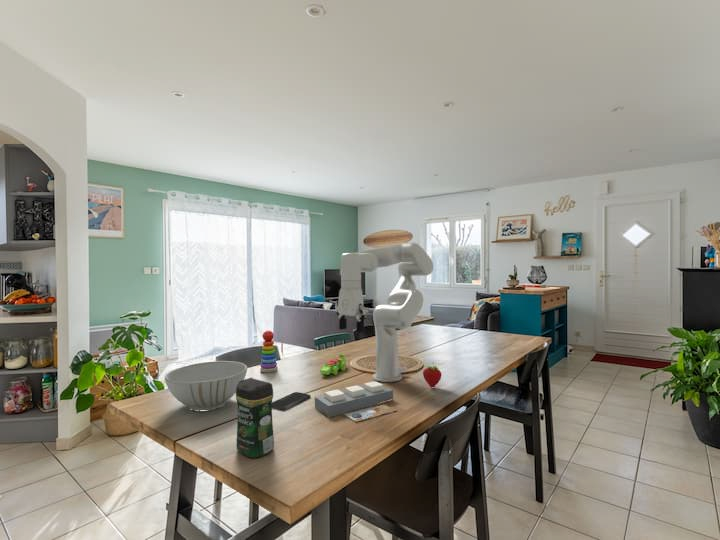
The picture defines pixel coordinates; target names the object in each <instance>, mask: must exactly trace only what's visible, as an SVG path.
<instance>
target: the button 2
mask: <svg viewBox="0 0 720 540" xmlns="http://www.w3.org/2000/svg"><path fill="white" fill-rule="evenodd" d="M363 386H364V389H365V390H367V391H369V392H371V393H373V392H377V391H381V390H383V386H384V384H383V383H380V382H379V381H376V380H374V381H369V382H366V383H365V382H364V383H363Z"/></svg>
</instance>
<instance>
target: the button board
mask: <svg viewBox="0 0 720 540" xmlns="http://www.w3.org/2000/svg"><path fill="white" fill-rule="evenodd" d="M360 387H362V388H364V385H362V386H360ZM340 391H341V392H343V393H345V389H343V390H340ZM390 399H393V400H394V390H393V389H391V388H389V387H387V386H384V385H383V390H381V391H377V392H373V393H371V392H369V391H367V390H365V395H360V396H356V397H350V396H349V395H347V394H345V399H344V400H340V401H335V402H330V401H328V400H327V399H325V394H322V395H317V396H314V409H316V410H318V411H320V413H322V414H323V415H325V416H326V415H327V416H326V417H328V418H331V417H334V416H339V415H342V413H343V414H346V413H345V412H347V413H350V412H354V411H357V410H356V409H358V410H361V409H360V408H362V409H364V408H363V407H366V408H368V407H367V406H369V407H371V406H370V405H373V406H375V405H374V404H377V403H380V402H383V401H387V400H390ZM377 405H378V404H377ZM353 410H354V411H353ZM349 411H350V412H349Z"/></svg>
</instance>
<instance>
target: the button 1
mask: <svg viewBox="0 0 720 540" xmlns="http://www.w3.org/2000/svg"><path fill="white" fill-rule="evenodd" d="M341 391H342V390H340V389H338V388H337V389H333V390H329V391H325V392H324V395H325V399H327V400H328V401H330V402H335V401H340V400H344V399H345V393H343V392H341Z"/></svg>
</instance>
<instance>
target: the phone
mask: <svg viewBox="0 0 720 540" xmlns="http://www.w3.org/2000/svg"><path fill="white" fill-rule="evenodd" d="M309 399H311V394H307V393H304V392H298V391H294V392H292V393H290V394H288V395H285V396H283V397H280V398H279V399H277V400H274V401H272V410H274V409H275V410H279V411H287V410H290V409H291V408H293V407H295V406H297V405H299V404H301V403H303V402H305V401H307V400H309Z"/></svg>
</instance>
